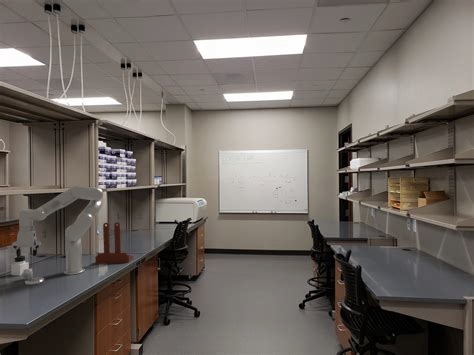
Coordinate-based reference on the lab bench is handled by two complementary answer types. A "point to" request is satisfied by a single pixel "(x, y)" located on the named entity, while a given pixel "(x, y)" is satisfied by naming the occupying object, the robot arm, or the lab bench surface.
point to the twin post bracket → (116, 256)
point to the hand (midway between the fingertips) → (26, 255)
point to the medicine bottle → (19, 265)
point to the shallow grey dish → (34, 281)
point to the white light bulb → (27, 274)
